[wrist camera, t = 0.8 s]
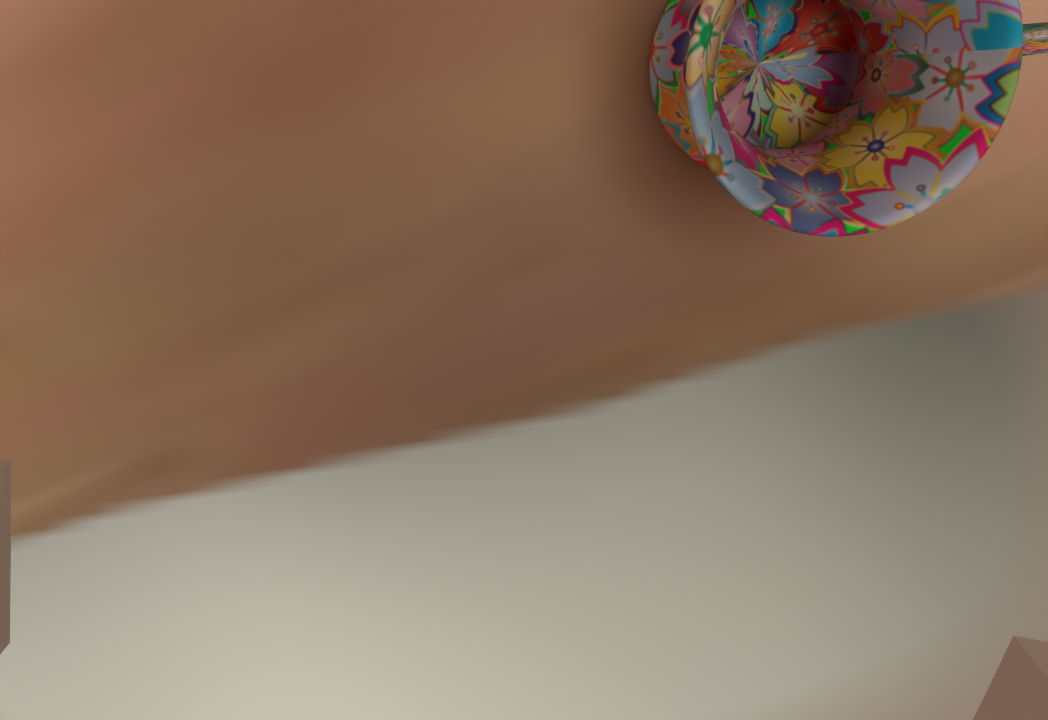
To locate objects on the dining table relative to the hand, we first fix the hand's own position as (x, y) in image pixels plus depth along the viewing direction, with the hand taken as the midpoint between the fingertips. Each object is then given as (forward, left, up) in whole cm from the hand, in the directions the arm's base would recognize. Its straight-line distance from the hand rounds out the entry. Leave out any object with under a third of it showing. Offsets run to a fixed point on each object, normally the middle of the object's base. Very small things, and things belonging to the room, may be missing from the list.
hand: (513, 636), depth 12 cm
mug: (-9, +9, -27) cm, 30 cm away
